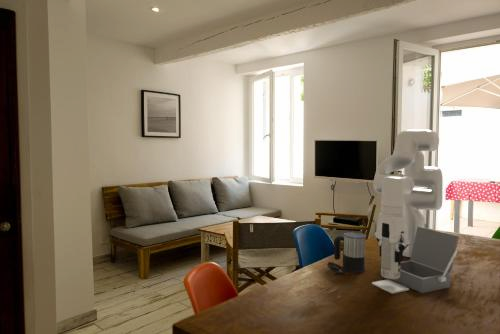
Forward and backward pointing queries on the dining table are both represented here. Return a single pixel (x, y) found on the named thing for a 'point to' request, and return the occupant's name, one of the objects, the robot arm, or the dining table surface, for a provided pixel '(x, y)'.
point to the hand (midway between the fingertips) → (390, 258)
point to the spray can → (388, 256)
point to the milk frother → (349, 253)
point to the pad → (390, 286)
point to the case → (429, 261)
